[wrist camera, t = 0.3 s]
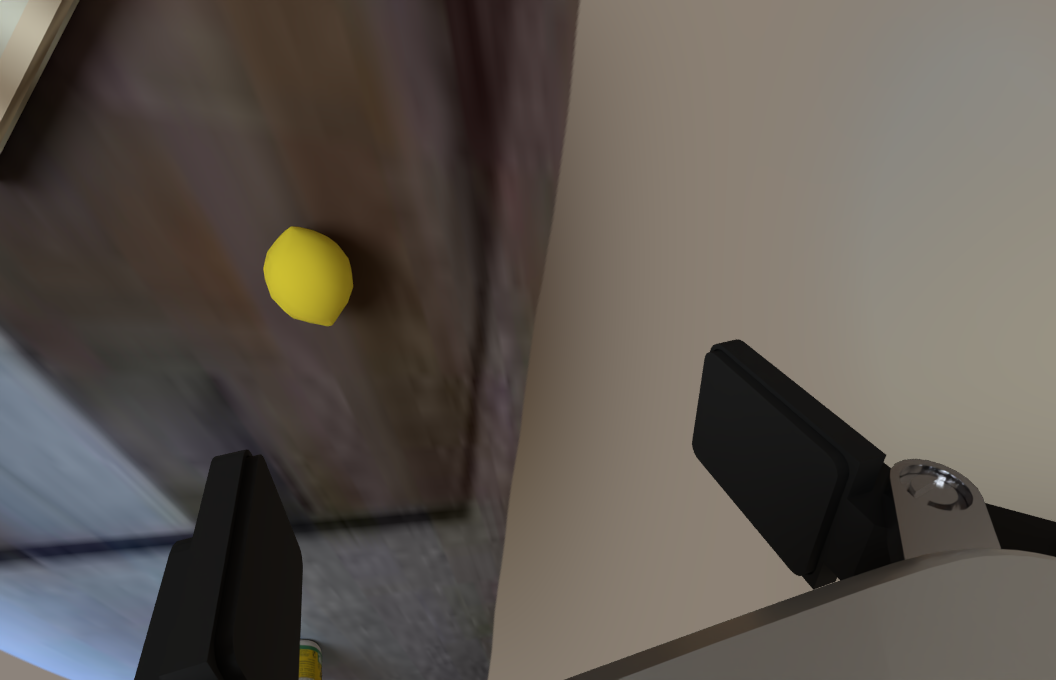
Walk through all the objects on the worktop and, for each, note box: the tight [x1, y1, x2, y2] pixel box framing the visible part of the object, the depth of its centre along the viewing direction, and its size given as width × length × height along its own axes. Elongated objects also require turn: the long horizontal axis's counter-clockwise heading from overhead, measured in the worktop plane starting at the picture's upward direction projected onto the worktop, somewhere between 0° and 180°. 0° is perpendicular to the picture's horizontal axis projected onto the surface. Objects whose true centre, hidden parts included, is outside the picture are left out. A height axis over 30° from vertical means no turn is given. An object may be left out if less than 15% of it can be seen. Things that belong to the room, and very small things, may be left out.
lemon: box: [263, 227, 353, 326], centre depth 37 cm, size 7×5×5 cm
